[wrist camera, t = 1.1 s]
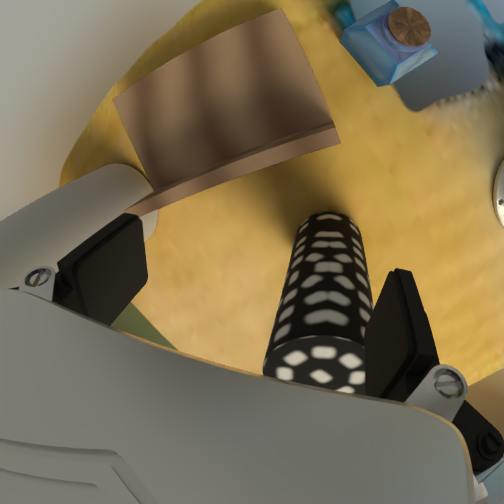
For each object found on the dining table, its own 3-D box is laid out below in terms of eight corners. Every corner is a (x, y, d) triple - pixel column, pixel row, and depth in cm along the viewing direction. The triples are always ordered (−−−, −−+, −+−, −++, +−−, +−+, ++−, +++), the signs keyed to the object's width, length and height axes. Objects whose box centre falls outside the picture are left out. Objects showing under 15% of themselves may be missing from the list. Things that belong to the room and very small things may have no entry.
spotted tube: (281, 241, 37) (239, 369, 21) (329, 197, 33) (327, 313, 16) (327, 282, 39) (315, 416, 22) (375, 244, 35) (402, 377, 18)
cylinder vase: (122, 143, 36) (-41, 221, 14) (177, 213, 39) (46, 344, 18) (81, 195, 41) (-42, 281, 20) (129, 255, 45) (23, 366, 24)
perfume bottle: (339, 42, 24) (348, 12, 14) (381, 15, 21) (409, -23, 11) (377, 86, 26) (406, 81, 16) (418, 59, 23) (464, 45, 13)
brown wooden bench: (289, 21, 24) (269, -14, 14) (335, 127, 29) (341, 143, 19) (139, 96, 32) (75, 105, 22) (180, 184, 37) (129, 221, 27)
